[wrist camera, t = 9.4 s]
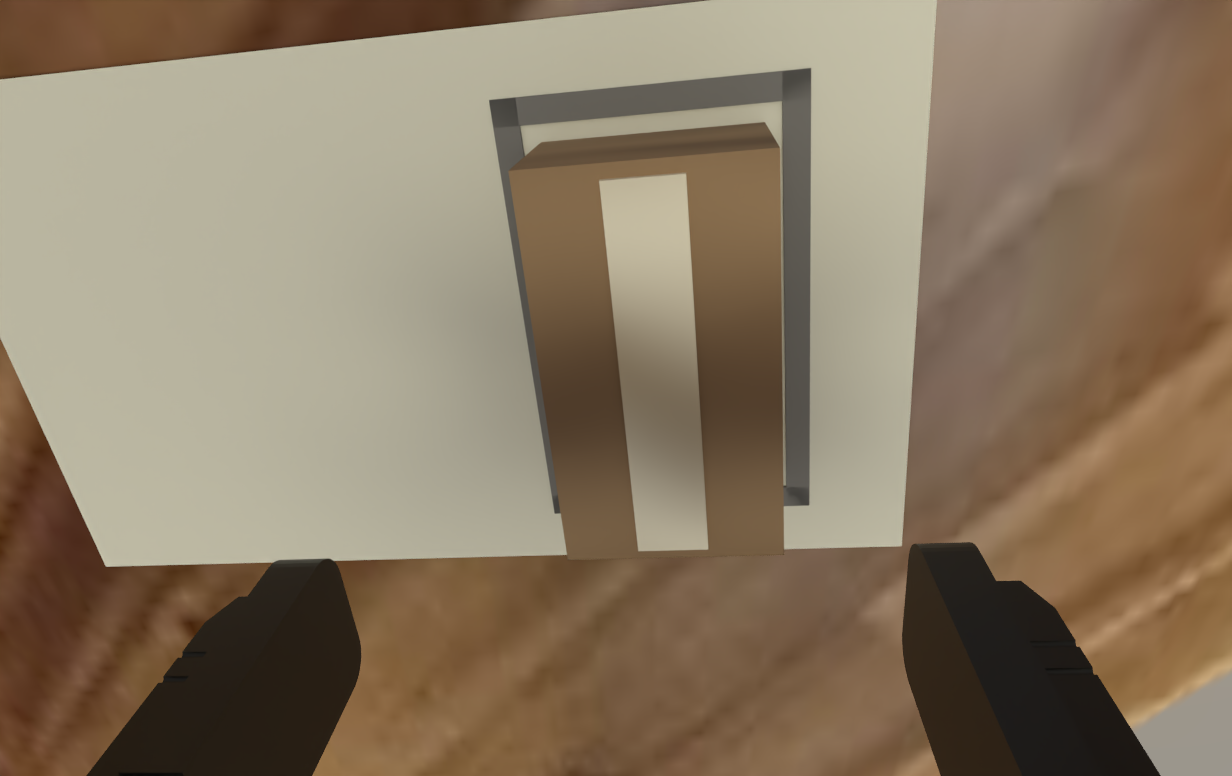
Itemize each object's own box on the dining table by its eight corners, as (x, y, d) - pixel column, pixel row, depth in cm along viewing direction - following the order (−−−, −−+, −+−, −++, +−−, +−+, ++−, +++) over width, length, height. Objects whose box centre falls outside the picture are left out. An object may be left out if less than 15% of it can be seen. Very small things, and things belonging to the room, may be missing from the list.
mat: (116, 556, 25) (103, 568, 25) (-95, 90, 19) (-117, 92, 19) (897, 535, 22) (902, 548, 22) (932, -25, 16) (939, -26, 16)
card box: (541, 142, 18) (507, 171, 15) (764, 122, 17) (780, 148, 14) (586, 480, 22) (566, 563, 19) (771, 473, 21) (784, 558, 18)
